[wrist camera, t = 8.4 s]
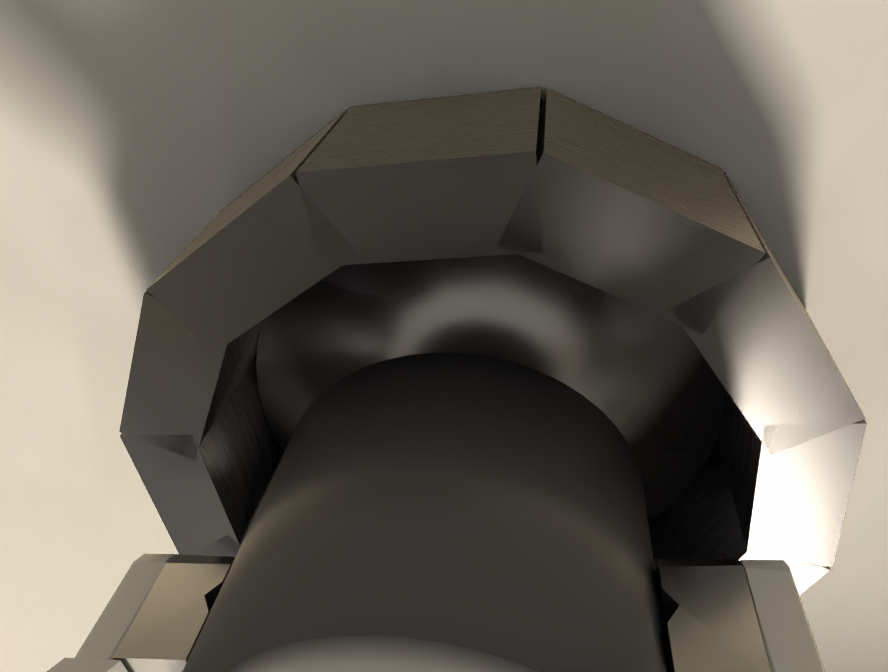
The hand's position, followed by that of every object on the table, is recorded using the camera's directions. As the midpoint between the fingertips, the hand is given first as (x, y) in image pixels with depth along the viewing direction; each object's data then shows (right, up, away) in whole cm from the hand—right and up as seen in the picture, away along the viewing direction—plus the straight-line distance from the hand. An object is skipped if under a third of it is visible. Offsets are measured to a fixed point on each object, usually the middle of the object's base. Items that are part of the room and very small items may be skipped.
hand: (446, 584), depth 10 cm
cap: (0, +1, +1) cm, 2 cm away
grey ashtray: (+1, +2, +3) cm, 4 cm away
